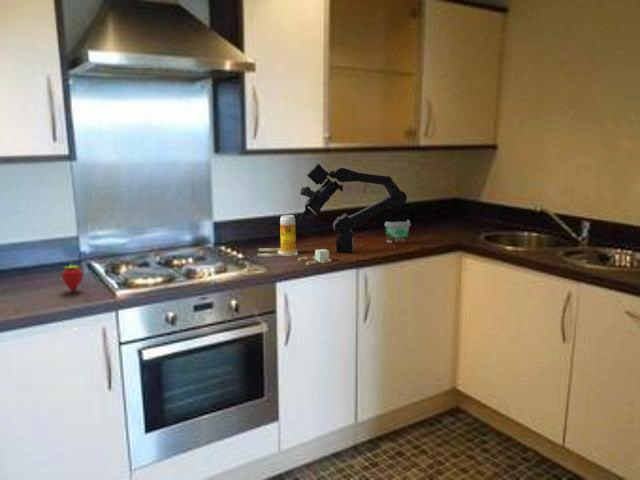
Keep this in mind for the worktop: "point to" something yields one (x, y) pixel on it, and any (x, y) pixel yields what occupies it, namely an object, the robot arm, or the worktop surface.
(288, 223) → the yellow tall cylinder
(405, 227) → the food container
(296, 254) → the mat
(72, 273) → the strawberry
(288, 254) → the lane
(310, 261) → the broken lane
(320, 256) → the sage cube
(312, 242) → the worktop surface
